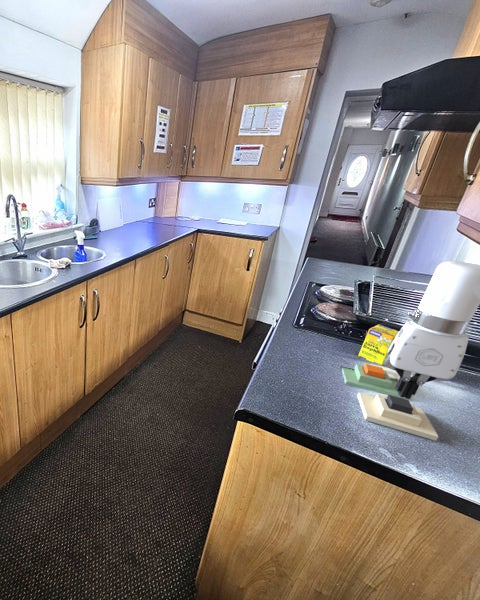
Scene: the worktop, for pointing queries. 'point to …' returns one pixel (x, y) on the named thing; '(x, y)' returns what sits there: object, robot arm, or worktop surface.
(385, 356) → the supplement box
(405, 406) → the key
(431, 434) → the cream flat stepped block
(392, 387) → the green flat stepped block
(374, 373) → the key
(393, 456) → the worktop surface
